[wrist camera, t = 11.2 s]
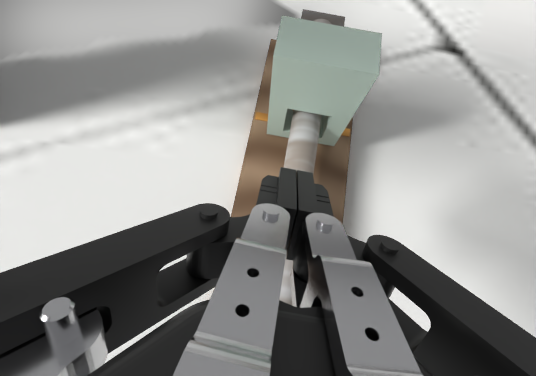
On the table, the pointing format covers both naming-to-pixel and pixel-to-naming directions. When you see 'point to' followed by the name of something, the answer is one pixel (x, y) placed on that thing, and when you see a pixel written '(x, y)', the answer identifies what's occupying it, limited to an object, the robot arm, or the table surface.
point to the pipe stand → (292, 152)
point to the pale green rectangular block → (321, 75)
